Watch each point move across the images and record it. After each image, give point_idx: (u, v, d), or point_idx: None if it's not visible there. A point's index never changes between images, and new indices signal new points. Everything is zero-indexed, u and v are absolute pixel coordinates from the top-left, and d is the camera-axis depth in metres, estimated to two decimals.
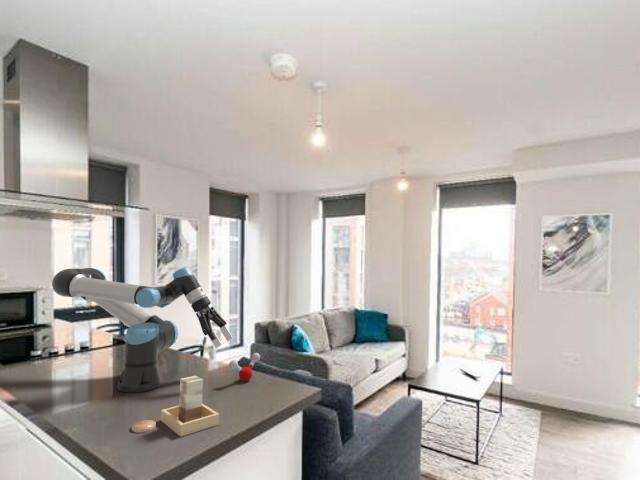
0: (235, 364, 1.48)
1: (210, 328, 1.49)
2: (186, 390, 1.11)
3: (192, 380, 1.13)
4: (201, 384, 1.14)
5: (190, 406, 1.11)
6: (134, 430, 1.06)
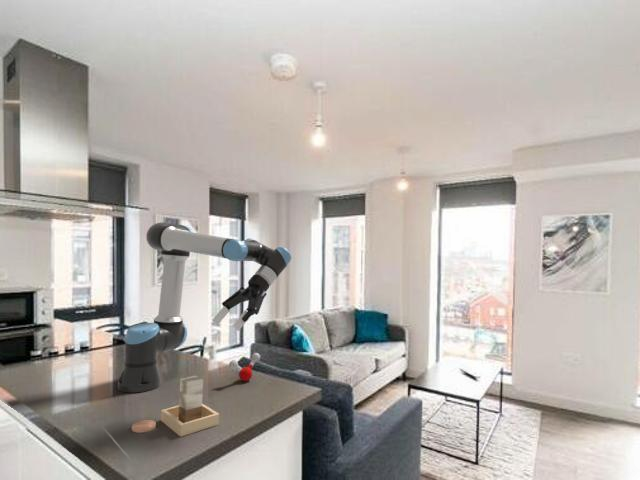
0: (235, 364, 1.48)
1: None
2: (186, 390, 1.11)
3: (192, 380, 1.13)
4: (201, 384, 1.14)
5: (190, 406, 1.11)
6: (134, 430, 1.06)
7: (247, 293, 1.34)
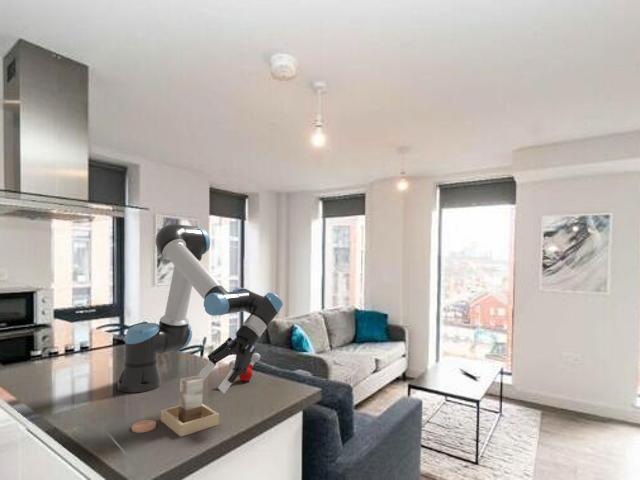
0: None
1: None
2: (186, 390, 1.11)
3: (192, 380, 1.13)
4: (201, 384, 1.14)
5: (190, 406, 1.11)
6: (134, 430, 1.06)
7: (234, 347, 1.24)
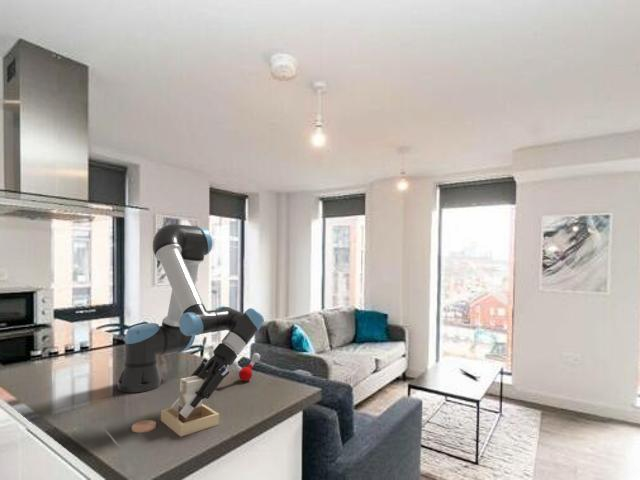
0: (235, 364, 1.48)
1: None
2: (186, 390, 1.11)
3: (192, 380, 1.13)
4: (201, 384, 1.14)
5: None
6: (134, 430, 1.06)
7: (211, 366, 1.19)
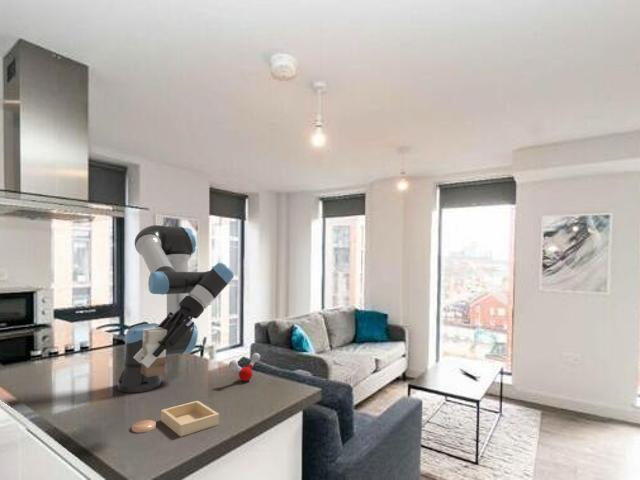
0: (235, 364, 1.48)
1: None
2: (148, 339, 1.08)
3: (155, 330, 1.10)
4: (165, 334, 1.11)
5: None
6: (134, 430, 1.06)
7: (176, 318, 1.16)
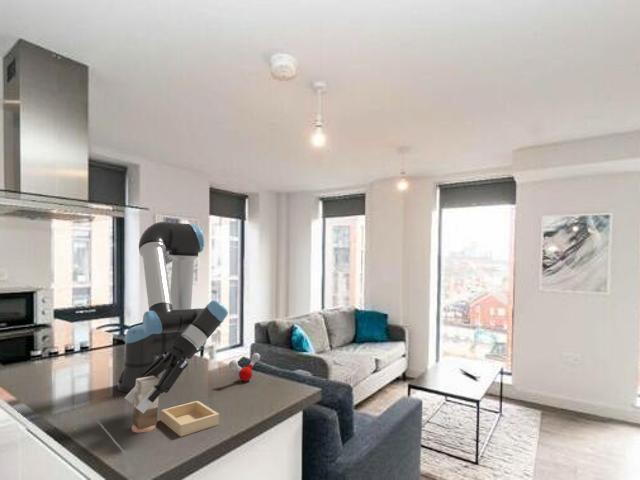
0: (235, 364, 1.48)
1: None
2: (140, 391, 1.07)
3: (148, 380, 1.09)
4: None
5: None
6: (134, 430, 1.06)
7: (169, 359, 1.15)
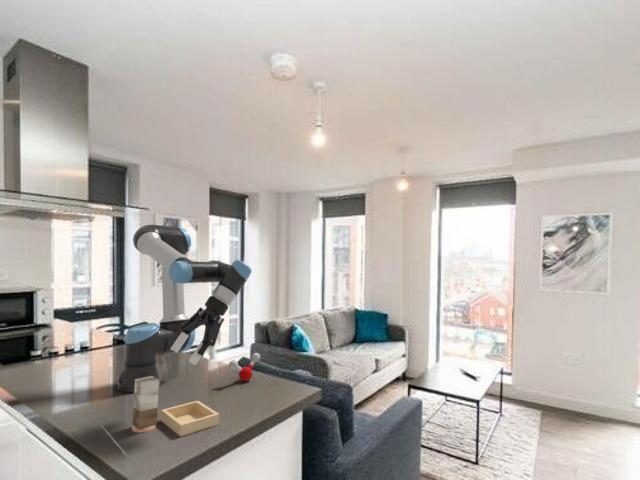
0: (235, 364, 1.48)
1: None
2: (140, 391, 1.07)
3: (147, 380, 1.09)
4: (157, 385, 1.10)
5: (145, 408, 1.07)
6: (134, 430, 1.06)
7: (204, 318, 1.25)
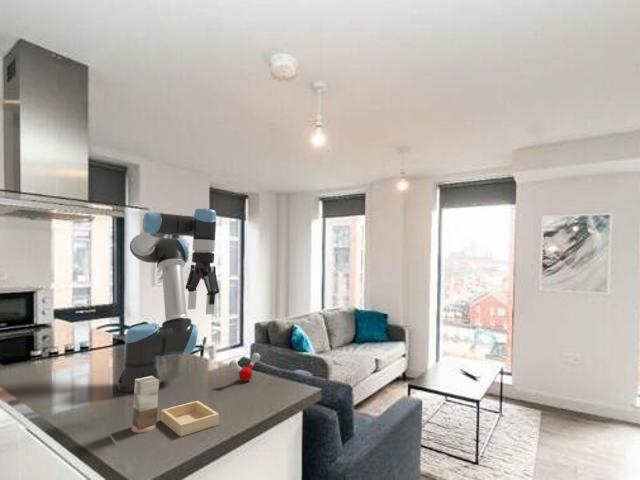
0: (235, 364, 1.48)
1: None
2: (140, 391, 1.07)
3: (147, 380, 1.09)
4: (157, 384, 1.10)
5: (145, 408, 1.07)
6: (134, 430, 1.06)
7: (199, 273, 1.32)
